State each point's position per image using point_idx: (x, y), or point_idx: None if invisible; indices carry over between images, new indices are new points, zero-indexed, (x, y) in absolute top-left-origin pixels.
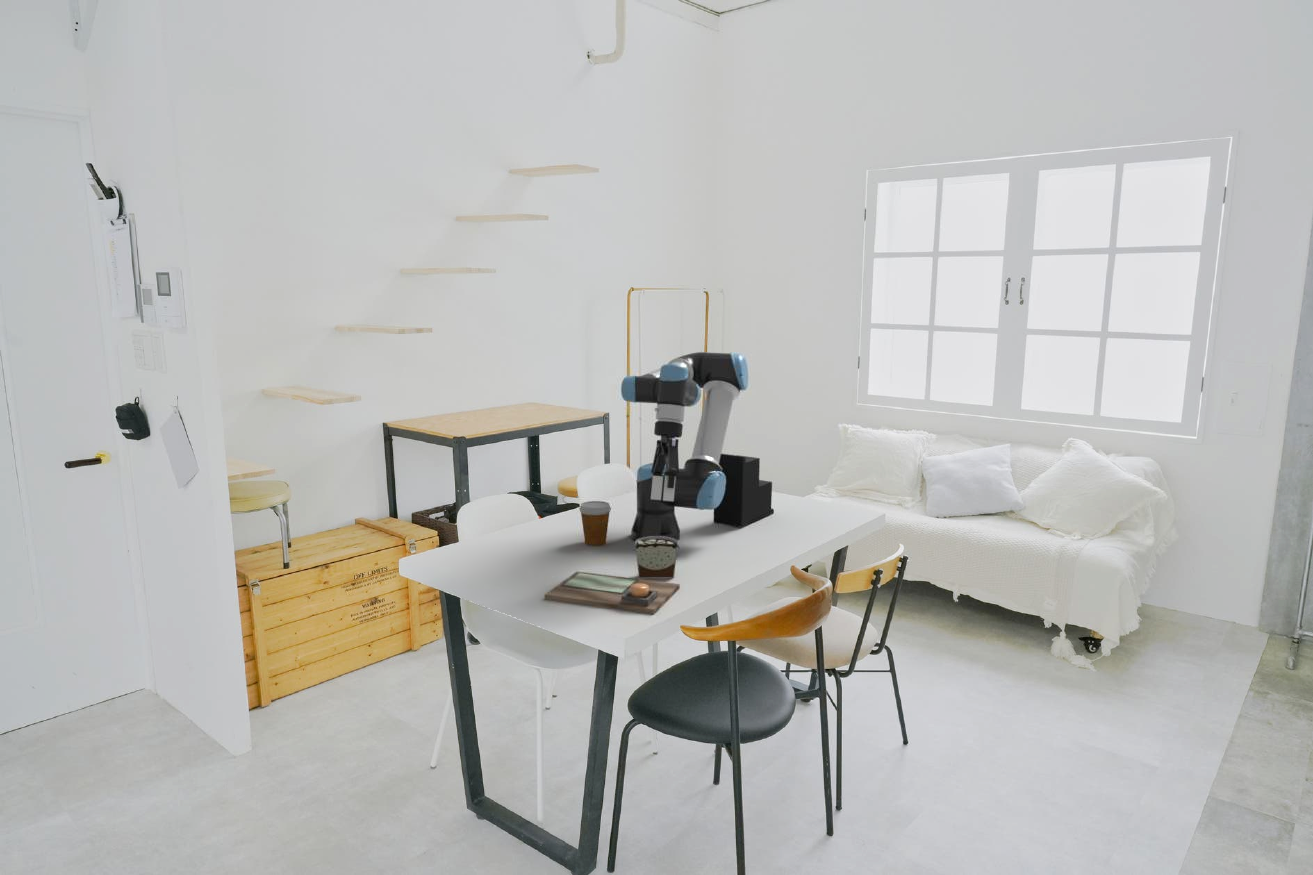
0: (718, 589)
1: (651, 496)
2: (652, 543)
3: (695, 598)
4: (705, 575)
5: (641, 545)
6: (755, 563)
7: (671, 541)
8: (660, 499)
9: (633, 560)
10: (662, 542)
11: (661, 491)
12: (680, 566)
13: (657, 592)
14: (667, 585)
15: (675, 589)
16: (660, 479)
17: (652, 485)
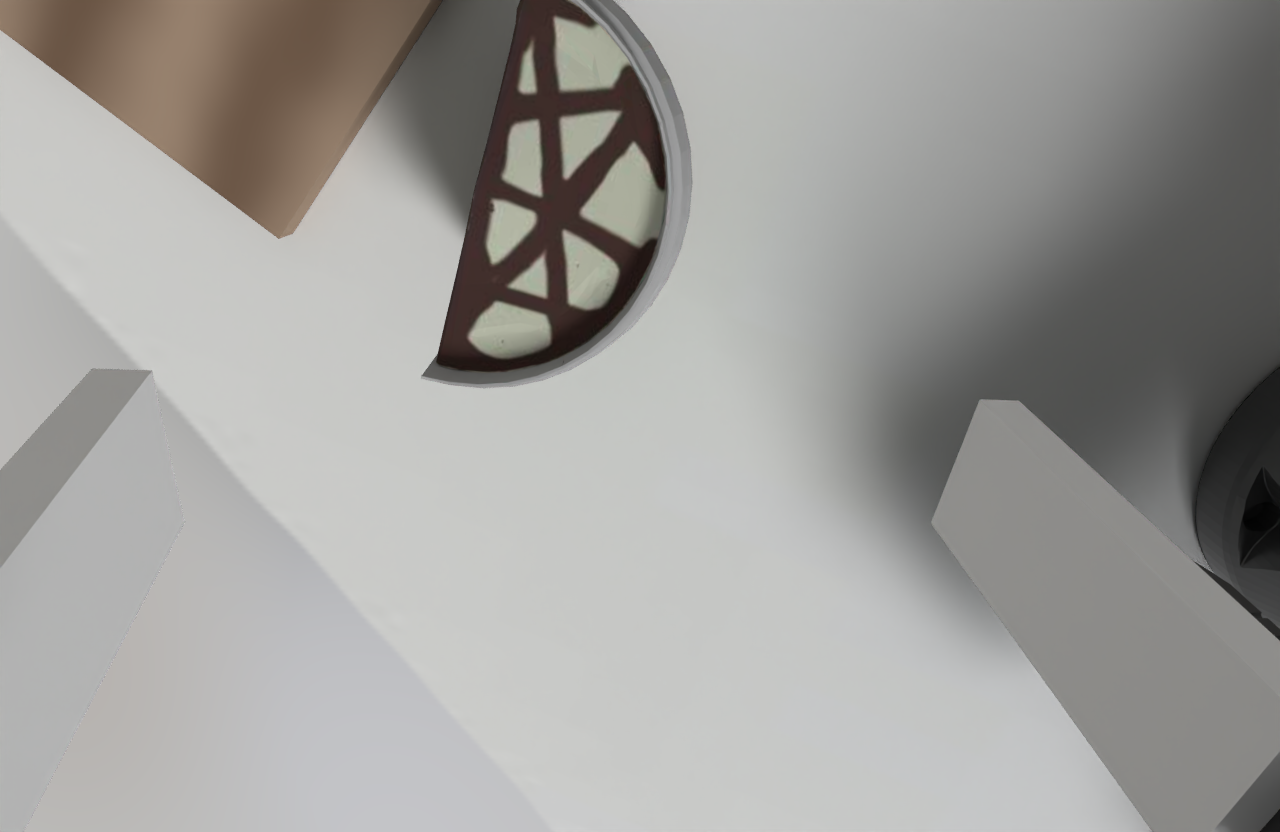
0: (242, 439)
1: (1011, 422)
2: (500, 157)
3: (106, 259)
4: (492, 467)
5: (513, 38)
6: (607, 763)
7: (541, 355)
8: (935, 523)
9: (965, 134)
10: (532, 268)
11: (999, 614)
12: (703, 397)
13: (129, 23)
14: (264, 148)
15: (206, 179)
16: (1156, 771)
17: (1137, 544)
